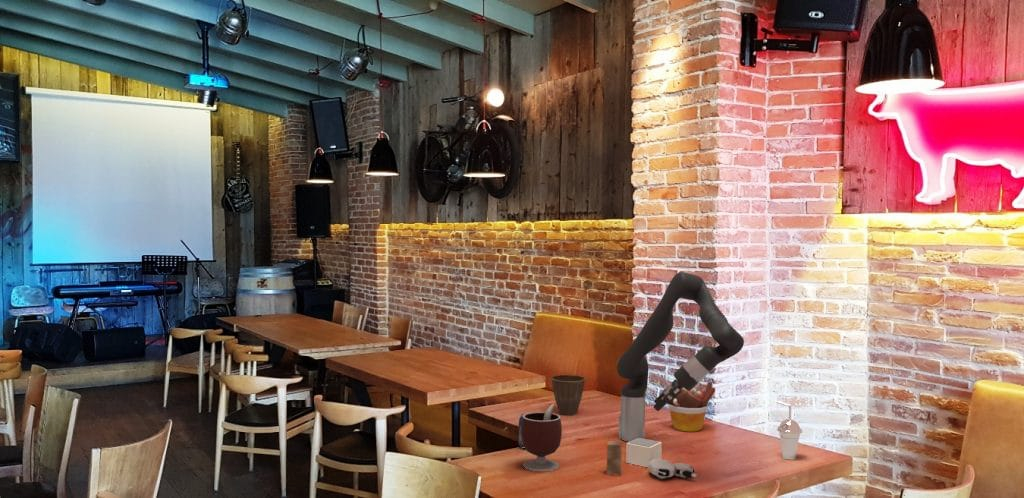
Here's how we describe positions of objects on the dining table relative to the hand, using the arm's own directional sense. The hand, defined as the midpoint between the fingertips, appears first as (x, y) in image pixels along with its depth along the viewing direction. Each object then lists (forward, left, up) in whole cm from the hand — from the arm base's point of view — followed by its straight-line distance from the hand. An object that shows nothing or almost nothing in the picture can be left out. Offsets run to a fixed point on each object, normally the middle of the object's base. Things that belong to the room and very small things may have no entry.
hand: (655, 406), depth 244 cm
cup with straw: (+29, +49, -23) cm, 61 cm away
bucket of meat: (-16, +64, -23) cm, 70 cm away
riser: (-9, +10, -23) cm, 26 cm away
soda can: (-51, -1, -23) cm, 56 cm away
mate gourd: (-34, -16, -23) cm, 44 cm away
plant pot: (-69, +54, -23) cm, 91 cm away
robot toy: (+5, +3, -23) cm, 24 cm away
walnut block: (-11, -7, -23) cm, 26 cm away
